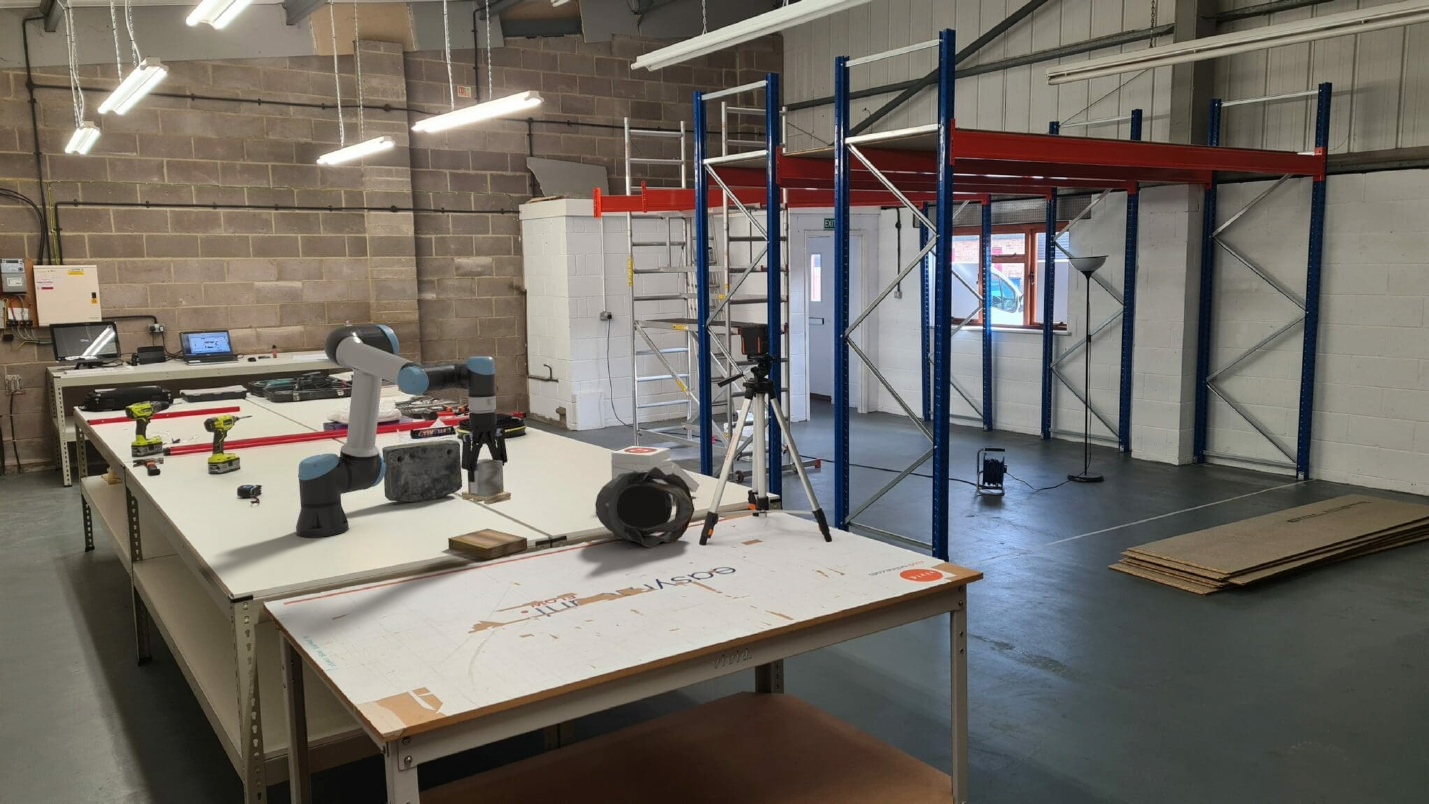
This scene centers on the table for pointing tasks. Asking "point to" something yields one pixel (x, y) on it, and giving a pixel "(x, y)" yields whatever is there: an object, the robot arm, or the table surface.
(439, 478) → the concrete block
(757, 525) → the table surface
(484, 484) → the block
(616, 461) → the pizza boxes
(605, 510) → the helmet
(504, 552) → the dock
